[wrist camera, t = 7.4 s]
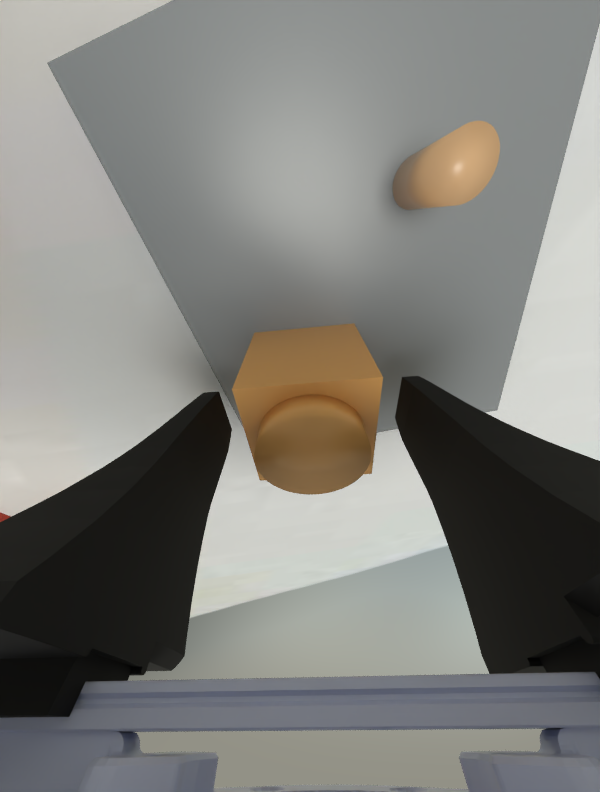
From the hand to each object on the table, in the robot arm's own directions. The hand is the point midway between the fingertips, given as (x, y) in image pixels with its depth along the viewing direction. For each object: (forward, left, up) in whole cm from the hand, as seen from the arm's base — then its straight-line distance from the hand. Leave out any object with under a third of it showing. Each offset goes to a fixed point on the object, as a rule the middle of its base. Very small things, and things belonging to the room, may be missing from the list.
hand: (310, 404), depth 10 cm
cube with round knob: (0, 0, -3) cm, 3 cm away
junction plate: (+3, +3, -4) cm, 5 cm away
